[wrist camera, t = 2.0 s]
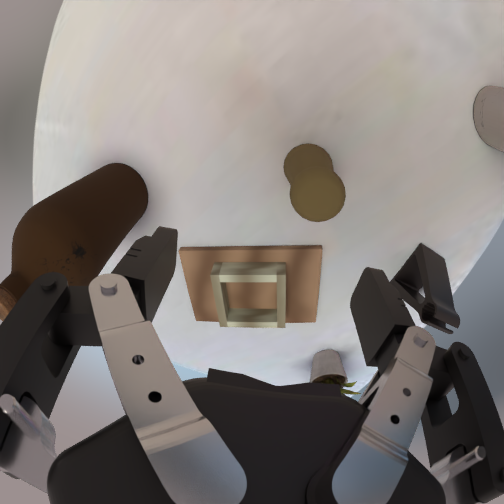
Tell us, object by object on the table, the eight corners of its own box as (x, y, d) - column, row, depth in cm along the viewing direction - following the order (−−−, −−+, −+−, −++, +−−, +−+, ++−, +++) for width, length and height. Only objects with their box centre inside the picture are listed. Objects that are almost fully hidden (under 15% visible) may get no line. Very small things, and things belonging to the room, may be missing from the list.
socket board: (321, 245, 39) (325, 261, 36) (315, 318, 47) (316, 335, 43) (180, 247, 41) (172, 262, 38) (197, 316, 49) (192, 333, 45)
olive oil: (113, 143, 34) (-35, 233, 12) (167, 194, 37) (57, 332, 16) (80, 194, 38) (-35, 296, 17) (127, 239, 42) (36, 367, 20)
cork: (273, 172, 35) (271, 208, 25) (302, 133, 32) (313, 153, 22) (313, 199, 36) (324, 243, 27) (342, 163, 33) (366, 195, 24)
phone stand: (420, 242, 37) (455, 294, 27) (443, 257, 38) (477, 307, 28) (386, 285, 42) (408, 342, 32) (410, 297, 43) (433, 351, 33)
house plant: (288, 381, 58) (286, 450, 44) (278, 342, 51) (275, 423, 37) (354, 373, 55) (363, 441, 41) (356, 332, 48) (372, 411, 34)
